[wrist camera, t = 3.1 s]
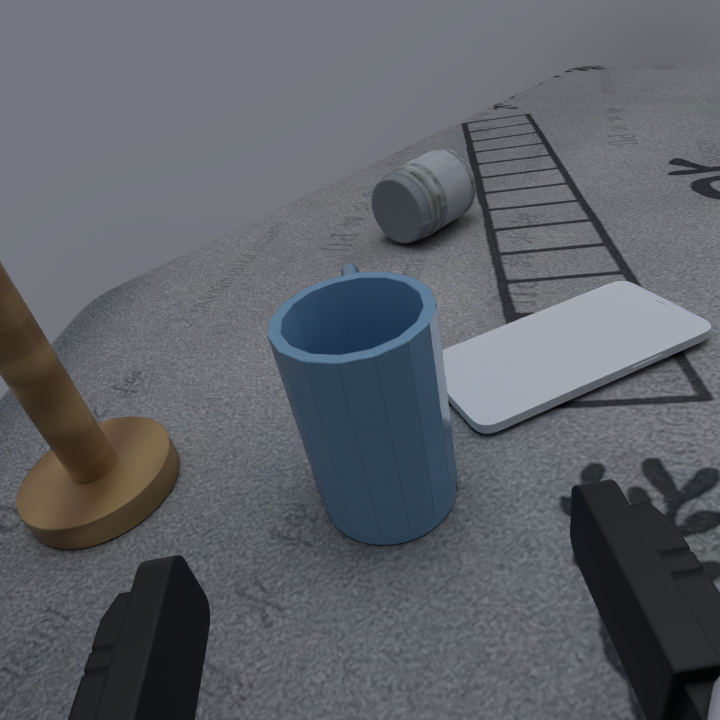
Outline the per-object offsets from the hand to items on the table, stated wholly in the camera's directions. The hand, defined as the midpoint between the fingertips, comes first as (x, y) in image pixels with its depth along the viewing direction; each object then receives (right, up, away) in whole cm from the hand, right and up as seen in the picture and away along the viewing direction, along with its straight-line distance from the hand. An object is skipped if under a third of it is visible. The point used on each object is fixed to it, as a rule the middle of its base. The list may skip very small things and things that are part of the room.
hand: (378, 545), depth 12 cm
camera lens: (+2, +16, +36) cm, 39 cm away
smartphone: (+11, +4, +21) cm, 25 cm away
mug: (+1, -1, +17) cm, 18 cm away
